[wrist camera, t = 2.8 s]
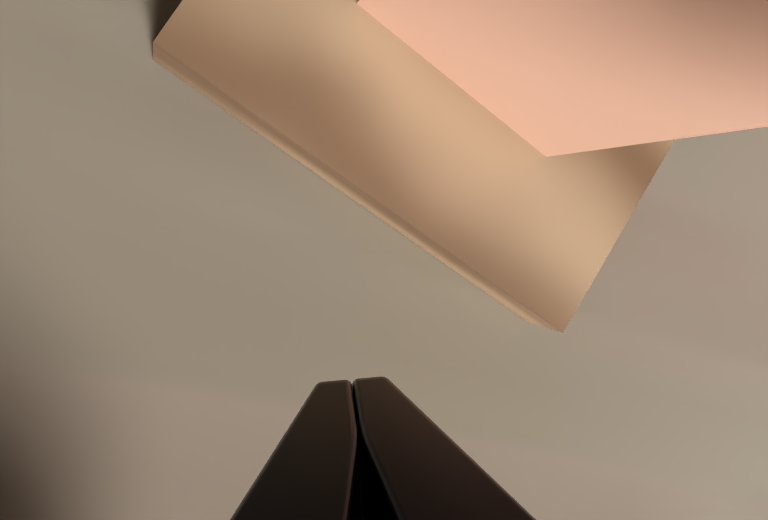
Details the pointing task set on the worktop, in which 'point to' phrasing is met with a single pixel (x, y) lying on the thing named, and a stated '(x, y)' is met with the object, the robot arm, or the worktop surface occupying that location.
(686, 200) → the worktop surface
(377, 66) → the tan wooden slab
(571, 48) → the terracotta block
